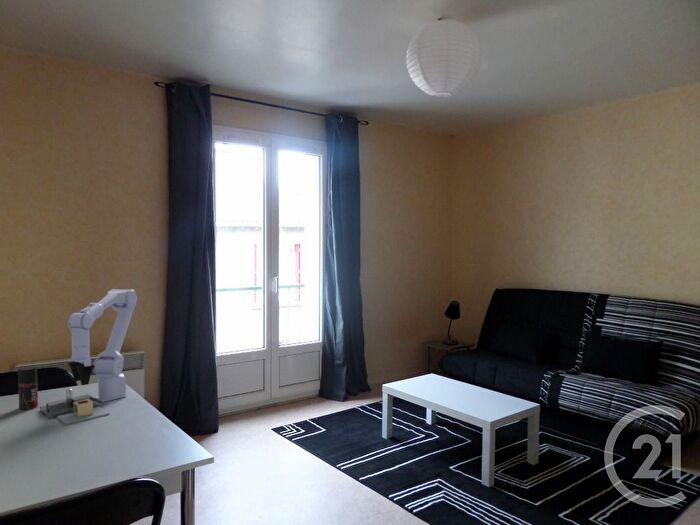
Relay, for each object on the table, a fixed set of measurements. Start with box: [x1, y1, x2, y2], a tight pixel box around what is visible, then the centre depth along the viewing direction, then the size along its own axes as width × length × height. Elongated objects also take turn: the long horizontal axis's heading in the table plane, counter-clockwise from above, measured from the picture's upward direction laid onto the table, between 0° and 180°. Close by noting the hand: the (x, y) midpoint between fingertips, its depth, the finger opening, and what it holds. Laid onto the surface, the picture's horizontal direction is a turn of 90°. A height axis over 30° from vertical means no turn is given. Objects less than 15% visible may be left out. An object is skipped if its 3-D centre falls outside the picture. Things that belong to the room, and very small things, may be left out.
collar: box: [73, 399, 93, 418], centre depth 174 cm, size 5×5×4 cm
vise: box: [39, 387, 99, 420], centre depth 181 cm, size 16×12×8 cm
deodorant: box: [17, 365, 39, 411], centre depth 183 cm, size 6×6×15 cm
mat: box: [56, 406, 110, 426], centre depth 174 cm, size 14×10×1 cm
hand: (81, 382), depth 179 cm, fingers open, 7 cm apart
